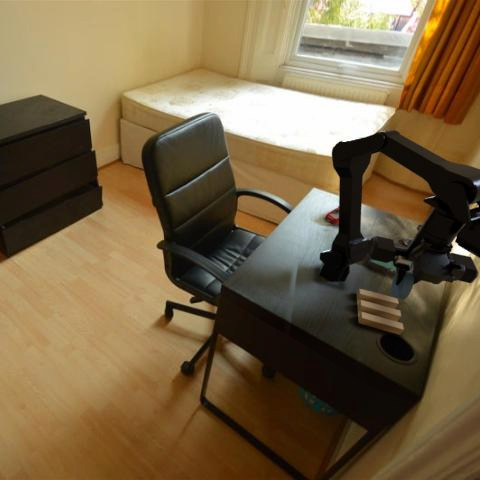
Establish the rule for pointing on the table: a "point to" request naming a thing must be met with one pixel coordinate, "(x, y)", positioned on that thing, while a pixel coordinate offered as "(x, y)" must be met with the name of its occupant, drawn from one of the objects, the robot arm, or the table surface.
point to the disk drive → (386, 264)
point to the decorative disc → (406, 240)
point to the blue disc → (403, 286)
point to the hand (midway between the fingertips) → (400, 285)
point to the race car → (333, 216)
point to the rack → (379, 311)
